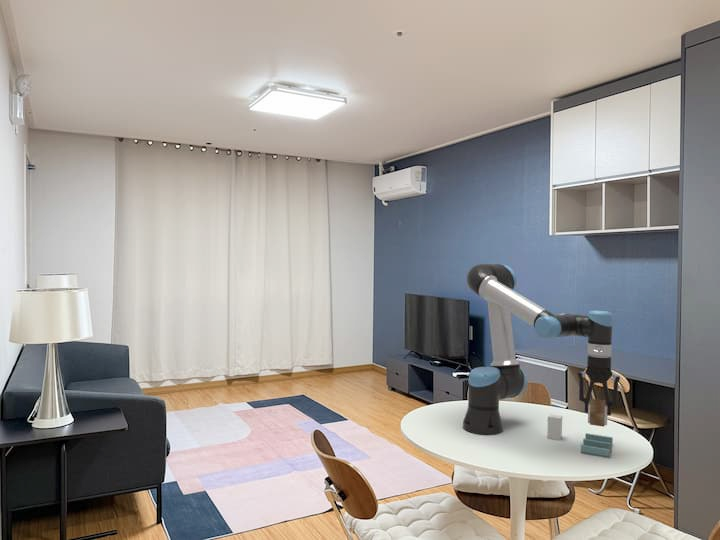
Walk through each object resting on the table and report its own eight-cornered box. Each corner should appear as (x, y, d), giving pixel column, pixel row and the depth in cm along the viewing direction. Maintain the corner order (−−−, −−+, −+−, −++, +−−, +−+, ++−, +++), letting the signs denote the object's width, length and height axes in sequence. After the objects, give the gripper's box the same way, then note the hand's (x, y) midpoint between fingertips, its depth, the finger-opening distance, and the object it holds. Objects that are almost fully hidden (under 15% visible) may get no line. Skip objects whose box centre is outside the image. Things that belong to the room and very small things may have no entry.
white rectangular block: (547, 438, 203) (547, 416, 203) (549, 434, 207) (549, 413, 207) (559, 440, 201) (560, 418, 201) (561, 436, 205) (562, 415, 205)
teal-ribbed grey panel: (580, 453, 188) (581, 445, 188) (585, 440, 202) (585, 433, 202) (609, 458, 183) (609, 450, 183) (612, 444, 198) (612, 437, 197)
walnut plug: (589, 424, 188) (590, 401, 188) (591, 421, 192) (591, 398, 192) (604, 426, 186) (604, 403, 186) (605, 423, 190) (605, 400, 190)
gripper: (570, 354, 189) (569, 421, 190) (627, 360, 181) (625, 430, 182) (573, 351, 196) (571, 416, 196) (628, 356, 188) (626, 424, 188)
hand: (597, 423), depth 189 cm, fingers closed on walnut plug, 4 cm apart
